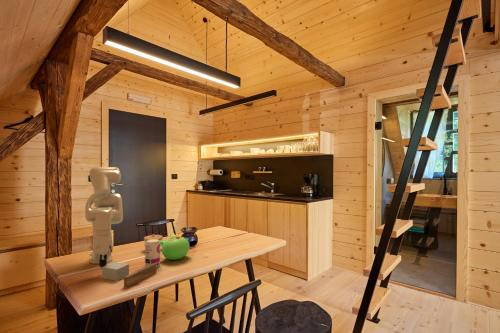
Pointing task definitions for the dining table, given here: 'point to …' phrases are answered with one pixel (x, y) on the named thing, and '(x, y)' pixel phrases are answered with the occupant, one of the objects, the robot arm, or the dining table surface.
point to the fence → (139, 275)
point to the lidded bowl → (153, 238)
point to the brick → (115, 271)
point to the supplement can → (152, 252)
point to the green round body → (175, 247)
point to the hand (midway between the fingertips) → (103, 266)
